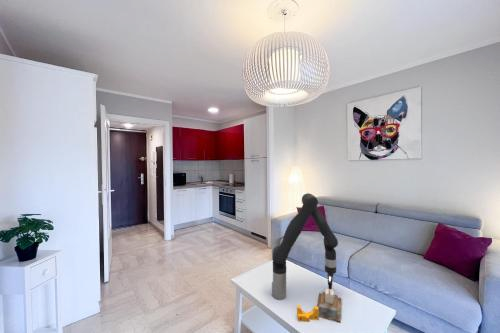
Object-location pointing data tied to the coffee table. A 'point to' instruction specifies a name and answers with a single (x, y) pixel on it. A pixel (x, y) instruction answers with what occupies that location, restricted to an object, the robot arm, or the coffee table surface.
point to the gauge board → (329, 308)
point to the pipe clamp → (307, 314)
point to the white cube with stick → (329, 296)
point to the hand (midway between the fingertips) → (330, 289)
